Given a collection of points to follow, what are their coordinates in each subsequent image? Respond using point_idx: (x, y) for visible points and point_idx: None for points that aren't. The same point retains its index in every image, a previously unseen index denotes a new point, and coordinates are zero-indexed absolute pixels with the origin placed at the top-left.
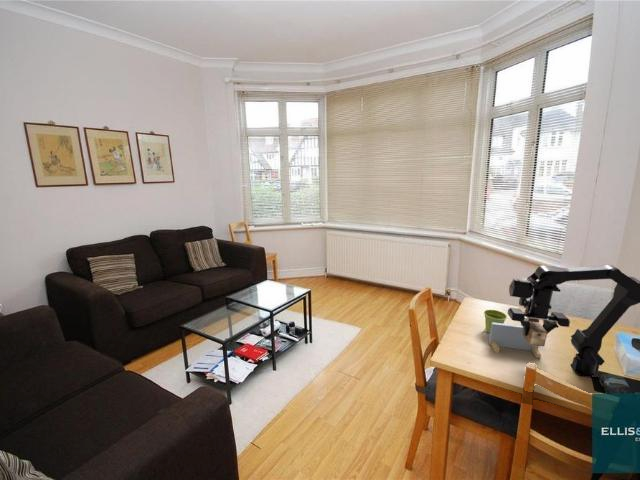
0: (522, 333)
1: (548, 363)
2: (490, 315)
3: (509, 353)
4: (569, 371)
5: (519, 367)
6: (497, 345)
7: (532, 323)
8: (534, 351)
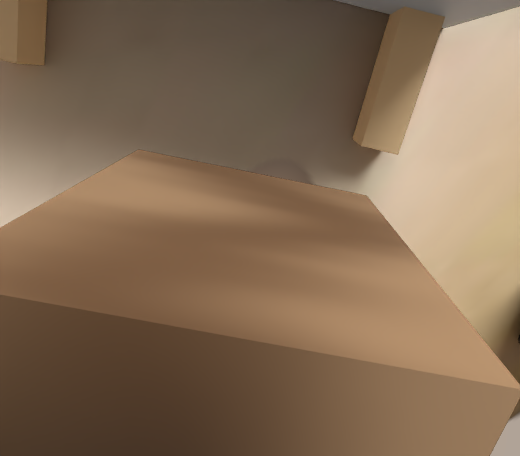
0: (132, 155)
1: (404, 213)
2: None
3: (142, 77)
4: (490, 300)
5: None
6: (11, 8)
7: (166, 453)
8: (374, 87)
